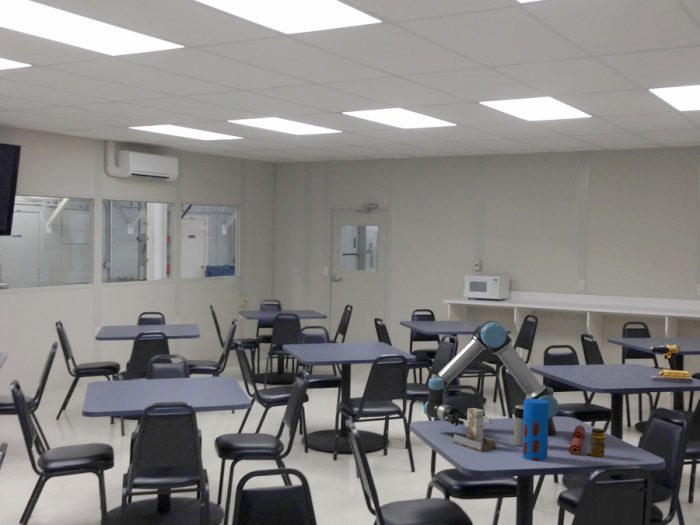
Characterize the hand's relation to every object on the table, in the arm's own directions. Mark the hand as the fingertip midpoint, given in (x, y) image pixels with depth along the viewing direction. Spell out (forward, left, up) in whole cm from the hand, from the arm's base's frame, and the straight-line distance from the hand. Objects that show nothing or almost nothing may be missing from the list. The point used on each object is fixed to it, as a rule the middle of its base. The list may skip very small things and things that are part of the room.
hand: (480, 422), depth 356 cm
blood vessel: (-39, -30, -12) cm, 51 cm away
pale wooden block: (+3, -2, -11) cm, 11 cm away
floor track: (+3, -2, -12) cm, 12 cm away
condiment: (-50, -13, -12) cm, 53 cm away
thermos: (-26, +4, -12) cm, 29 cm away
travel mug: (-16, -16, -12) cm, 25 cm away
